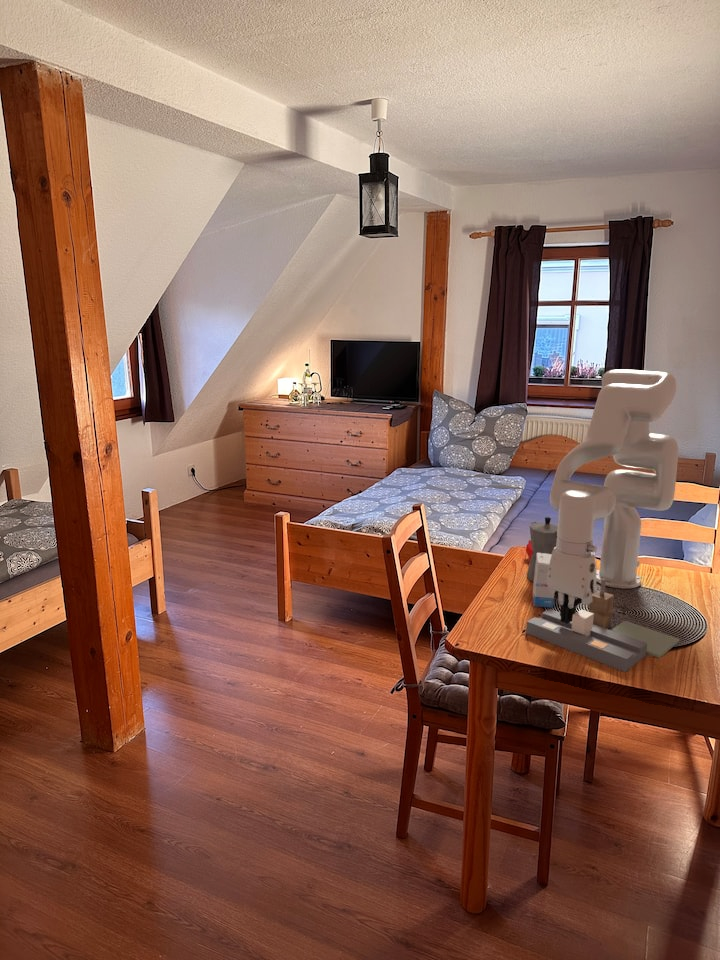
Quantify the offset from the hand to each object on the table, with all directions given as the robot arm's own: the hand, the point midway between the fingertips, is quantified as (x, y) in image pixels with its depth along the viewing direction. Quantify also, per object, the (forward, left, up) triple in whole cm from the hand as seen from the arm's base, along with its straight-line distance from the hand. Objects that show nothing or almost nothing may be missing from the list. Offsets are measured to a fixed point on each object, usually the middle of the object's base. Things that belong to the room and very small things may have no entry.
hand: (567, 620), depth 155 cm
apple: (-39, -31, -4) cm, 50 cm away
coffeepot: (-27, -21, -4) cm, 35 cm away
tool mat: (-11, +13, -4) cm, 17 cm away
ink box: (-14, -14, -4) cm, 21 cm away
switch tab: (0, +4, -2) cm, 4 cm away
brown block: (-11, +3, -4) cm, 12 cm away
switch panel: (0, +5, -4) cm, 6 cm away
